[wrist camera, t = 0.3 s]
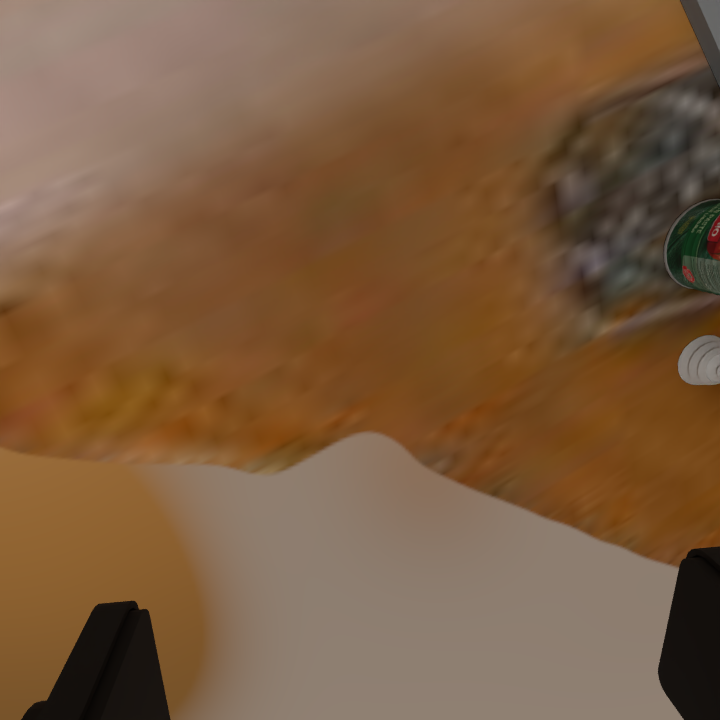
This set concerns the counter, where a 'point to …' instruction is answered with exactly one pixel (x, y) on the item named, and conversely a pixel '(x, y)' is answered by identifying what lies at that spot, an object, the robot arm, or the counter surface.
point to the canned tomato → (695, 247)
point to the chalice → (701, 361)
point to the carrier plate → (706, 29)
